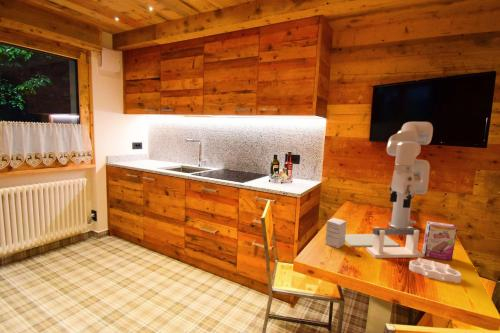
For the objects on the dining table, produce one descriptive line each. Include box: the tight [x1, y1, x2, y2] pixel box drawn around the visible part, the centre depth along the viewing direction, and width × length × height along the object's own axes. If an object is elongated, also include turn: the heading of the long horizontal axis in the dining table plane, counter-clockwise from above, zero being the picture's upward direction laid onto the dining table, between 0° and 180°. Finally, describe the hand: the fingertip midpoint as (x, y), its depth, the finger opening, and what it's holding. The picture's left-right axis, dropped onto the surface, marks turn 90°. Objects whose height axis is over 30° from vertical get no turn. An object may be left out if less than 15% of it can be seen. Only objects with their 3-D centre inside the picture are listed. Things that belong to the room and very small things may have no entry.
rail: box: [372, 227, 421, 236], centre depth 129 cm, size 22×2×2 cm, turn 95°
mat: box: [345, 233, 400, 248], centre depth 145 cm, size 26×14×1 cm, turn 95°
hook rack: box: [365, 226, 424, 259], centre depth 130 cm, size 24×8×12 cm, turn 95°
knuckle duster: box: [408, 257, 463, 284], centre depth 114 cm, size 3×18×15 cm
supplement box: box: [325, 217, 347, 249], centre depth 138 cm, size 7×7×13 cm
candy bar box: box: [421, 220, 458, 262], centre depth 127 cm, size 11×5×16 cm, turn 71°
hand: (399, 204), depth 127 cm, fingers open, 9 cm apart
